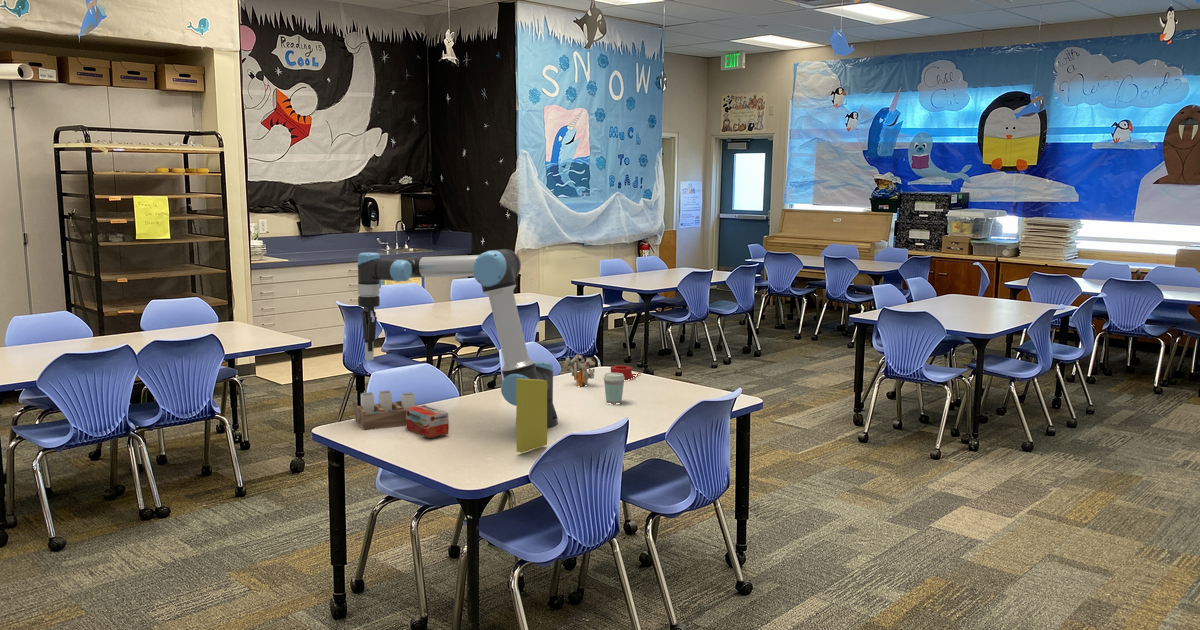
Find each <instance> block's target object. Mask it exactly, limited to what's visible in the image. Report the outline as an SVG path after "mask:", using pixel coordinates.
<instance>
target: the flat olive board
mask: <svg viewBox="0 0 1200 630" xmlns="http://www.w3.org/2000/svg"><path fill="white" fill-rule="evenodd" d="M515 407H516V411H515V412H516V414H515V415H516V416H515V424H516V423H517V425H516V452H518V453H520V454H522V453H525V452H529V451H531V450H534V449H537V448H541V447H543V446H547V445H548V428H547V381H546V380H537V379H519V378H516V406H515Z"/></svg>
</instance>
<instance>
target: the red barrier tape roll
mask: <svg viewBox="0 0 1200 630" xmlns="http://www.w3.org/2000/svg"><path fill="white" fill-rule="evenodd" d="M610 373H622V374H624V377H625V380H628V379H631V378H633V377H635V376H633V375H636V374H632V373H633V368H632V366H630V365H620V364H619V365H612V366H610ZM637 373H638V374H641V372H637ZM638 374H637V377H639V376H638ZM635 378H636V377H635Z"/></svg>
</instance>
